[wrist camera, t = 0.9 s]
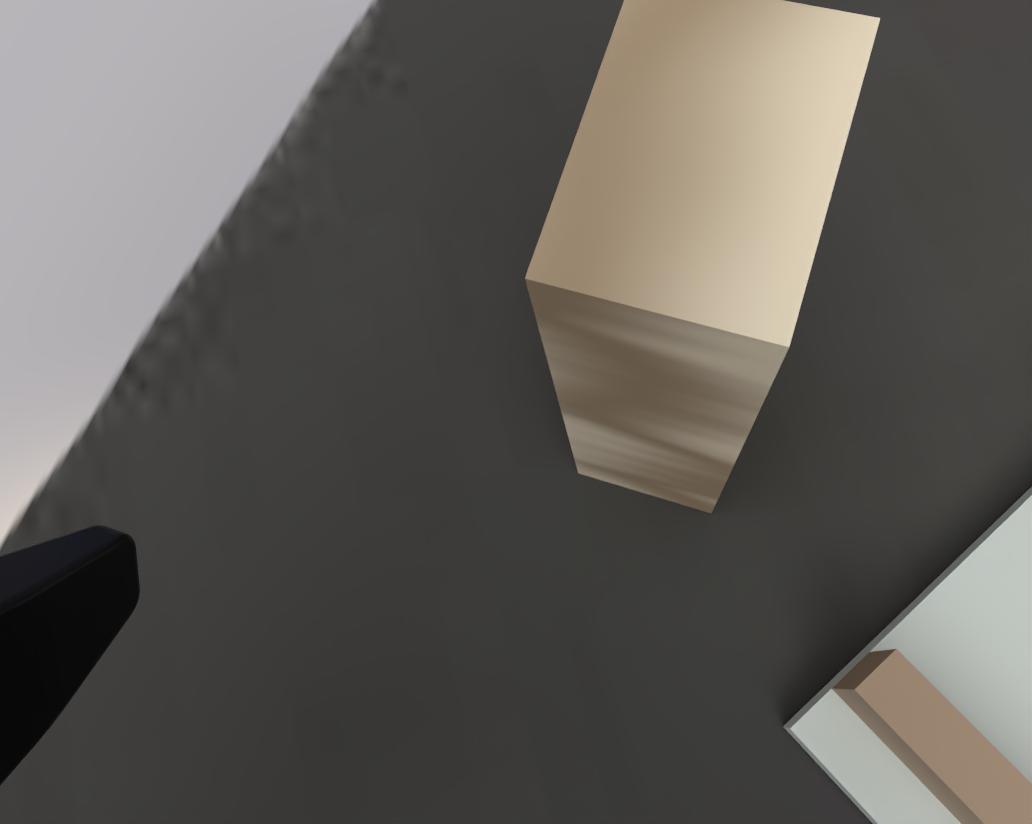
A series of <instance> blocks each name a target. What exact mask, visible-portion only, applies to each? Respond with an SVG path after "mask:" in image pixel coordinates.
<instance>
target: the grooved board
mask: <svg viewBox="0 0 1032 824" xmlns="http://www.w3.org/2000/svg"><path fill="white" fill-rule="evenodd" d="M783 727H784V728H785V729H786V730H787V731H788V733H789V734H790V735H791V736H792V737H793V738H794V739H795V740H796V741H797V742H798V743H799V744H800V745H801V747H802V748H803V749H804V750H805V751H806V752H807V753H808V754H809V755H810V756H811V757H812V758H813V759H814V761H815V762H816V763H817V764H818V765H819V766H820V767H821V768H822V769H823V770H824V771H825V772H826V774H827V775H828V776H829V777H830V778H831V779H832V780H833V781H834V782H835V783H836V784H837V785H838V786H839V788H840V789H841V790H842V791H843V792H844V793H845V794H846V795H847V796H848V797H849V798H850V799H851V801H852V802H853V803H854V804H855V805H856V806H857V807H858V808H859V809H860V810H861V811H862V812H863V813H864V815H865V816H866V817H867V818H868V819H869V820H870V821H871V822H872V823H873V824H1032V487H1031V488H1030V489H1029V490H1028V491H1027V492H1025V493H1024V494H1023V495H1022V496H1021V497H1020V498H1019V499H1018V500H1017V501H1016V502H1015V503H1014V504H1013V505H1012V506H1011V507H1010V508H1009V509H1008V510H1007V511H1006V512H1005V513H1004V514H1003V515H1002V516H1001V517H1000V518H999V519H997V520H996V521H995V522H994V523H993V524H992V525H991V526H990V527H989V528H988V529H987V530H986V531H985V532H984V533H983V534H982V535H981V536H980V537H979V538H978V539H977V540H976V541H975V542H974V543H973V544H972V545H971V546H970V547H968V548H967V549H966V550H965V551H964V552H963V553H962V554H961V555H960V556H959V557H958V558H957V559H956V560H955V561H954V562H953V563H952V564H951V565H950V566H949V567H948V568H947V569H946V570H945V571H944V572H943V573H942V574H940V575H939V576H938V577H937V578H936V579H935V580H934V581H933V582H932V583H931V584H930V585H929V586H928V587H927V588H926V589H925V590H924V591H923V592H922V593H921V594H920V595H919V596H918V597H917V598H916V599H915V600H914V601H913V602H911V603H910V604H909V605H908V606H907V607H906V608H905V609H904V610H903V611H902V612H901V613H900V614H899V615H898V616H897V617H896V618H895V619H894V620H893V621H892V622H891V623H890V624H889V625H888V626H887V627H886V628H885V629H883V630H882V631H881V632H880V633H879V634H878V635H877V636H876V637H875V638H874V639H873V640H872V641H871V642H870V643H869V644H868V645H867V646H866V647H865V648H864V649H863V650H862V651H861V652H860V653H859V654H858V655H857V656H856V657H854V658H853V659H852V660H851V661H850V662H849V663H848V664H847V665H846V666H845V667H844V668H843V669H842V670H841V671H840V672H839V673H838V674H837V675H836V676H835V677H834V678H833V679H832V680H831V681H830V682H829V683H828V684H826V685H825V686H824V687H823V688H822V689H821V690H820V691H819V692H818V693H817V694H816V695H815V696H814V697H813V698H812V699H811V700H810V701H809V702H808V703H807V704H806V705H805V706H804V707H803V708H802V709H801V710H800V711H798V712H797V713H796V714H795V715H794V716H793V717H792V718H791V719H790V720H789V721H788V722H787V723H786V724H785V725H784V726H783Z"/></svg>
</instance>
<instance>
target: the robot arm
mask: <svg viewBox="0 0 1032 824" xmlns="http://www.w3.org/2000/svg"><path fill="white" fill-rule="evenodd" d="M139 593H140V586H139V575H138V564H137V554H136V545H135V542H134V540H133V539H132V537H131V536H129V535H128V534H126V533H123V532H120V531H117V530H114V529H112V528H109V527H106V526H101V525H95V526H91V527H87V528H84V529H81V530H78V531H75V532H72V533H69V534H66V535H63V536H60V537H57V538H54V539H50V540H47V541H44V542H41V543H38V544H35V545H32V546H29V547H26V548H23V549H20V550H17V551H14V552H11V553H8V554H5V555H1V556H0V785H1V784H2V783H3V781H4V780H5V779H6V778H7V777H8V776H9V775H10V773H11V772H12V771H13V770H14V769H15V768H16V766H17V765H18V764H19V763H20V762H21V761H22V760H23V758H24V757H25V756H26V755H27V754H28V753H29V752H30V750H31V749H32V748H33V747H34V746H35V745H36V743H37V742H38V741H39V740H40V739H41V737H42V736H43V735H44V734H45V733H46V731H47V730H48V729H49V728H50V727H51V725H52V724H53V723H54V721H55V720H56V719H57V717H58V716H59V715H60V713H61V712H62V711H63V709H64V708H65V707H66V705H67V704H68V703H69V701H70V700H71V698H72V697H73V696H74V694H75V693H76V691H77V690H78V689H79V687H80V686H81V684H82V683H83V682H84V680H85V679H86V677H87V676H88V674H89V673H90V672H91V670H92V669H93V667H94V666H95V665H96V663H97V662H98V660H99V659H100V658H101V656H102V655H103V653H104V652H105V651H106V649H107V648H108V646H109V645H110V644H111V642H112V641H113V639H114V638H115V637H116V635H117V634H118V632H119V631H120V629H121V628H122V627H123V625H124V624H125V622H126V621H127V620H128V618H129V617H130V615H131V614H132V612H133V611H134V609H135V607H136V605H137V602H138V599H139Z"/></svg>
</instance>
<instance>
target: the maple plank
mask: <svg viewBox="0 0 1032 824" xmlns="http://www.w3.org/2000/svg"><path fill="white" fill-rule="evenodd" d="M879 21H880V18H876V17H871V16H865V15H860V14H854V13H849V12H843V11H838V10H832V9H827V8H821V7H816V6H811V5H805V4H800V3H794V2H789V1H783V0H624V3H623V5H622V8H621V11H620V14H619V17H618V19H617V22H616V25H615V28H614V31H613V33H612V36H611V39H610V42H609V45H608V47H607V50H606V53H605V56H604V59H603V61H602V64H601V67H600V70H599V73H598V75H597V78H596V81H595V84H594V87H593V89H592V92H591V95H590V98H589V101H588V103H587V106H586V109H585V112H584V115H583V117H582V120H581V123H580V126H579V129H578V131H577V134H576V137H575V140H574V142H573V145H572V148H571V151H570V154H569V156H568V159H567V162H566V165H565V168H564V170H563V173H562V176H561V179H560V182H559V184H558V187H557V190H556V193H555V196H554V198H553V201H552V204H551V207H550V210H549V212H548V215H547V218H546V221H545V224H544V226H543V229H542V232H541V235H540V238H539V240H538V243H537V246H536V249H535V252H534V254H533V257H532V260H531V263H530V266H529V268H528V271H527V274H526V277H525V281H526V284H527V288H528V292H529V295H530V299H531V303H532V306H533V310H534V313H535V317H536V321H537V324H538V328H539V332H540V335H541V339H542V343H543V346H544V350H545V354H546V357H547V361H548V365H549V368H550V372H551V376H552V379H553V383H554V387H555V390H556V394H557V398H558V401H559V405H560V409H561V412H562V416H563V419H564V423H565V427H566V430H567V434H568V438H569V441H570V445H571V449H572V452H573V456H574V460H575V463H576V467H577V471H578V473H579V474H582V475H586V476H589V477H592V478H595V479H599V480H602V481H605V482H609V483H612V484H615V485H619V486H622V487H625V488H629V489H632V490H635V491H638V492H642V493H645V494H648V495H652V496H655V497H658V498H662V499H665V500H668V501H671V502H675V503H678V504H681V505H685V506H688V507H691V508H695V509H698V510H701V511H704V512H708V513H712V511H713V509H714V507H715V505H716V502H717V500H718V498H719V496H720V494H721V492H722V490H723V488H724V485H725V483H726V481H727V479H728V477H729V475H730V473H731V470H732V468H733V466H734V464H735V462H736V460H737V458H738V456H739V453H740V451H741V449H742V447H743V445H744V443H745V441H746V438H747V436H748V434H749V432H750V430H751V428H752V426H753V424H754V421H755V419H756V417H757V415H758V413H759V411H760V409H761V406H762V404H763V402H764V400H765V398H766V396H767V394H768V392H769V389H770V387H771V385H772V383H773V381H774V379H775V377H776V374H777V372H778V370H779V368H780V366H781V364H782V362H783V360H784V357H785V355H786V353H787V351H788V349H789V346H790V343H791V339H792V336H793V332H794V328H795V325H796V321H797V317H798V314H799V310H800V307H801V303H802V299H803V296H804V292H805V289H806V285H807V281H808V278H809V274H810V270H811V267H812V263H813V260H814V256H815V252H816V249H817V245H818V242H819V238H820V234H821V231H822V227H823V223H824V220H825V216H826V213H827V209H828V205H829V202H830V198H831V195H832V191H833V187H834V184H835V180H836V176H837V173H838V169H839V166H840V162H841V158H842V155H843V151H844V148H845V144H846V140H847V137H848V133H849V129H850V126H851V122H852V119H853V115H854V111H855V108H856V104H857V101H858V97H859V93H860V90H861V86H862V82H863V79H864V75H865V72H866V68H867V64H868V61H869V57H870V54H871V50H872V46H873V43H874V39H875V36H876V32H877V28H878V25H879Z"/></svg>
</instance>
